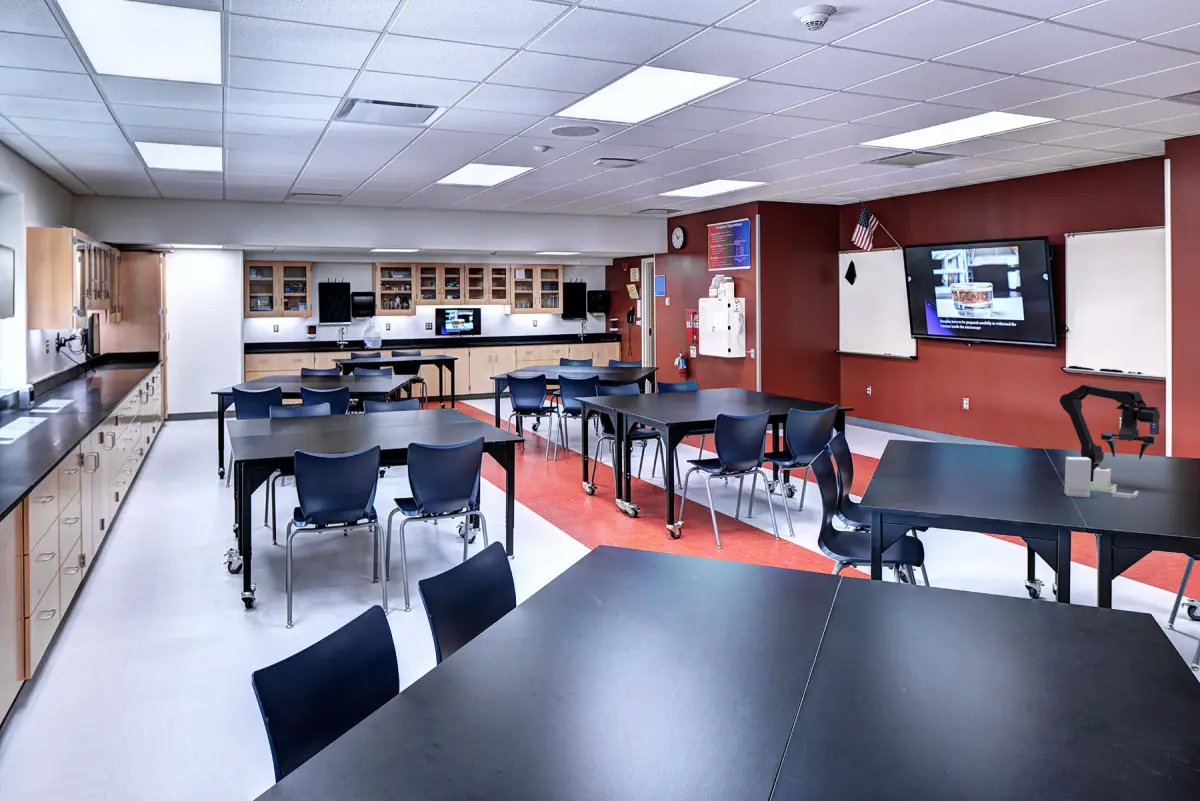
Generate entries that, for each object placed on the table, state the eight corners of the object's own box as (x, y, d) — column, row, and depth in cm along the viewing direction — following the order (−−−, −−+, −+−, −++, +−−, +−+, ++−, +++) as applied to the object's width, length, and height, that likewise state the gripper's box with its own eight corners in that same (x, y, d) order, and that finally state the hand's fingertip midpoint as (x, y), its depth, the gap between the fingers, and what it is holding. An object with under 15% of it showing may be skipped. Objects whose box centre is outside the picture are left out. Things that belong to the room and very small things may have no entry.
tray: (1085, 491, 343) (1086, 486, 343) (1091, 486, 352) (1091, 481, 351) (1111, 494, 337) (1112, 489, 337) (1116, 489, 346) (1117, 484, 346)
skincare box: (1086, 495, 336) (1089, 457, 334) (1090, 499, 330) (1092, 459, 328) (1063, 494, 338) (1065, 455, 337) (1066, 497, 332) (1068, 458, 331)
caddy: (1092, 489, 343) (1093, 468, 342) (1096, 486, 349) (1097, 465, 348) (1106, 490, 340) (1108, 469, 339) (1109, 488, 345) (1111, 467, 345)
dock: (1109, 497, 332) (1109, 492, 332) (1113, 493, 339) (1113, 488, 339) (1134, 500, 327) (1134, 495, 326) (1138, 496, 334) (1138, 491, 334)
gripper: (1099, 421, 347) (1097, 458, 348) (1153, 425, 335) (1150, 463, 336) (1104, 418, 355) (1102, 454, 357) (1157, 422, 343) (1154, 459, 345)
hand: (1126, 458), depth 348 cm, fingers open, 9 cm apart
